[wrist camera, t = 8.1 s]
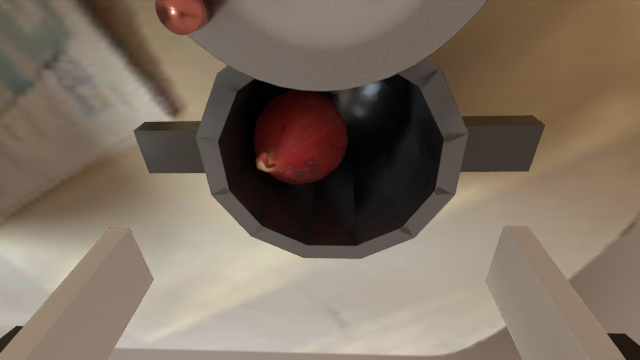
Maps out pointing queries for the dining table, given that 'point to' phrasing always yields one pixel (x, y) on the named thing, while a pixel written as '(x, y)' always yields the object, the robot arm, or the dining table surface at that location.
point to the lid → (318, 36)
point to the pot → (343, 161)
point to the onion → (299, 137)
